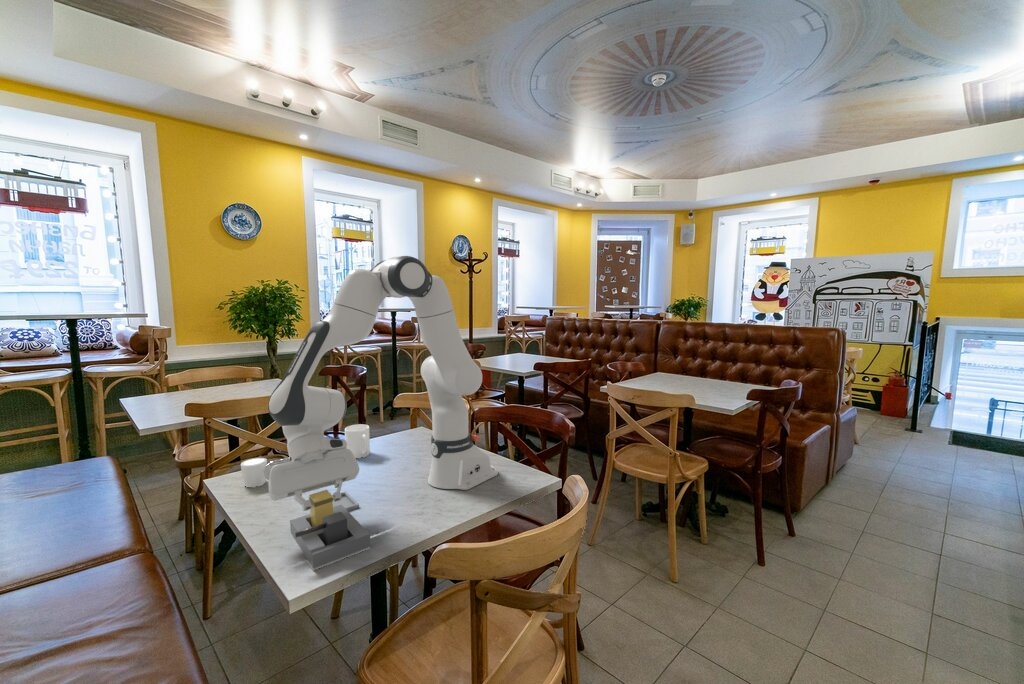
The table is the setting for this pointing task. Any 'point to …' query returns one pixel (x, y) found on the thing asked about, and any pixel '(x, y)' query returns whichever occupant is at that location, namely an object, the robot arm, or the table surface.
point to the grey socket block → (330, 537)
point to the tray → (346, 502)
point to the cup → (358, 440)
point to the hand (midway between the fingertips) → (322, 504)
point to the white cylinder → (253, 472)
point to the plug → (320, 506)
